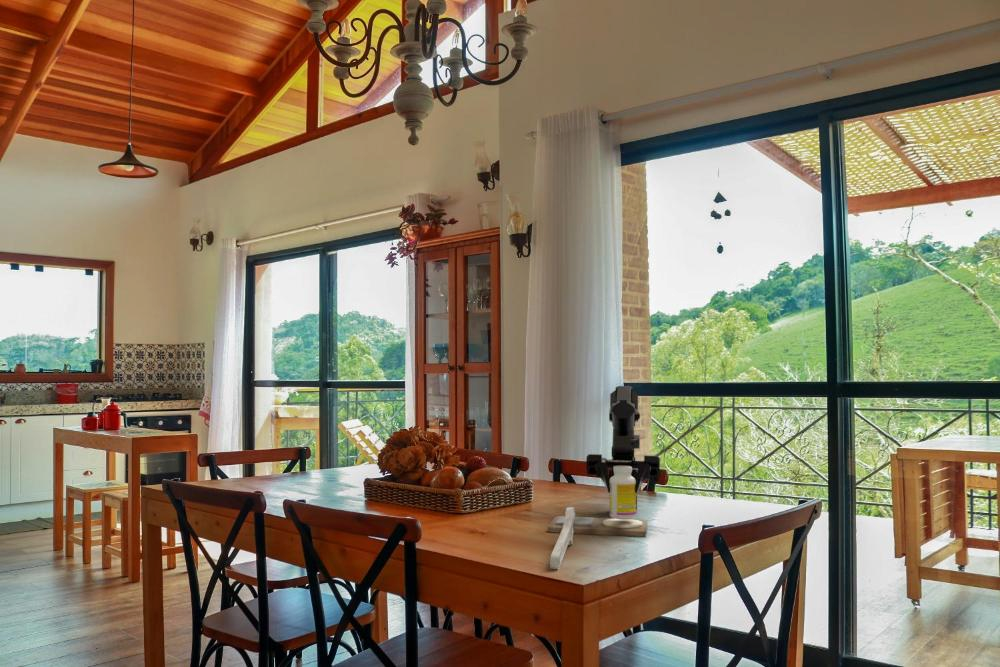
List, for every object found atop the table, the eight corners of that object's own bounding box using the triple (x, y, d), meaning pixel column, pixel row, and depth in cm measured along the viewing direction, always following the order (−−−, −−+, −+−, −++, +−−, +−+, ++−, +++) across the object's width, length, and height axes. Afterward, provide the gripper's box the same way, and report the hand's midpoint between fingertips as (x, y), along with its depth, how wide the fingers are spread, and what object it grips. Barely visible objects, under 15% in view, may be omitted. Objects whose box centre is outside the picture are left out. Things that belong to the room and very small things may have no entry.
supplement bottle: (641, 518, 210) (641, 467, 211) (622, 521, 206) (622, 469, 207) (622, 513, 216) (622, 464, 216) (603, 516, 212) (604, 466, 212)
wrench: (549, 584, 170) (568, 536, 199) (558, 584, 170) (575, 537, 199) (549, 545, 169) (567, 503, 199) (558, 546, 169) (575, 504, 198)
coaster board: (547, 532, 207) (548, 524, 207) (555, 520, 222) (555, 513, 222) (645, 536, 202) (645, 529, 202) (647, 524, 217) (647, 517, 217)
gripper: (586, 423, 217) (584, 471, 206) (659, 424, 214) (660, 473, 203) (588, 449, 225) (585, 498, 213) (658, 451, 222) (659, 500, 210)
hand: (622, 492), depth 210 cm, fingers closed on supplement bottle, 6 cm apart
